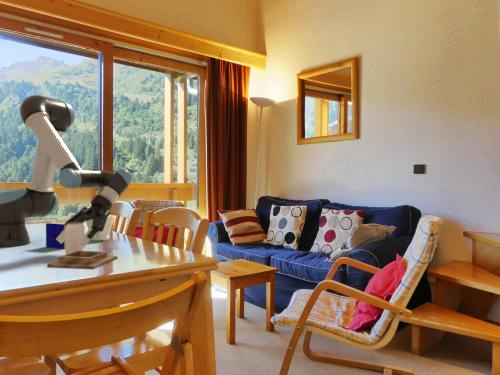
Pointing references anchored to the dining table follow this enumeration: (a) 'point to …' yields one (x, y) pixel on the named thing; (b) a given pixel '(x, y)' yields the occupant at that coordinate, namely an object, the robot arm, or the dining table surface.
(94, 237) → the cup
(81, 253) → the holder
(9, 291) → the dining table surface
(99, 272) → the dining table surface
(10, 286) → the dining table surface
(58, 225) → the puzzle cube
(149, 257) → the dining table surface
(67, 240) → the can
